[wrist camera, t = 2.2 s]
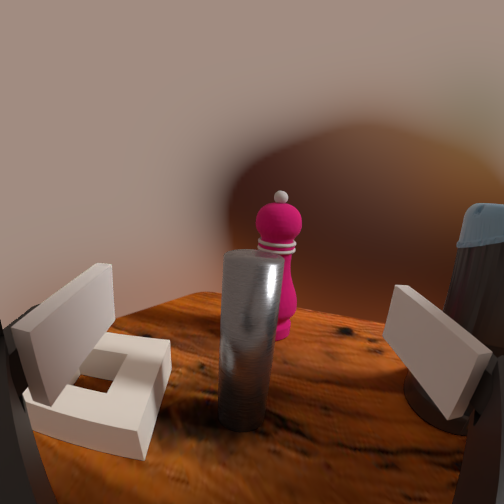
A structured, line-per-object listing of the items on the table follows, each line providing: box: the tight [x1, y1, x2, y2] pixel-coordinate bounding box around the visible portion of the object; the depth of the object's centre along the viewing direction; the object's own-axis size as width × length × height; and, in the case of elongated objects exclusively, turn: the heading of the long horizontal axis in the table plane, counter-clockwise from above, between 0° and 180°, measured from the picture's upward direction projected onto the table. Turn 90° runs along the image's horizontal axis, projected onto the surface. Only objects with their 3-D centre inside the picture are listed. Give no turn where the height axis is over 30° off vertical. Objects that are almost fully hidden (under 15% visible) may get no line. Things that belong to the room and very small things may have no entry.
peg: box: [218, 249, 285, 432], centre depth 26 cm, size 4×4×16 cm
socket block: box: [23, 332, 172, 461], centre depth 26 cm, size 14×14×4 cm
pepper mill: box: [256, 191, 302, 341], centre depth 43 cm, size 7×7×20 cm
